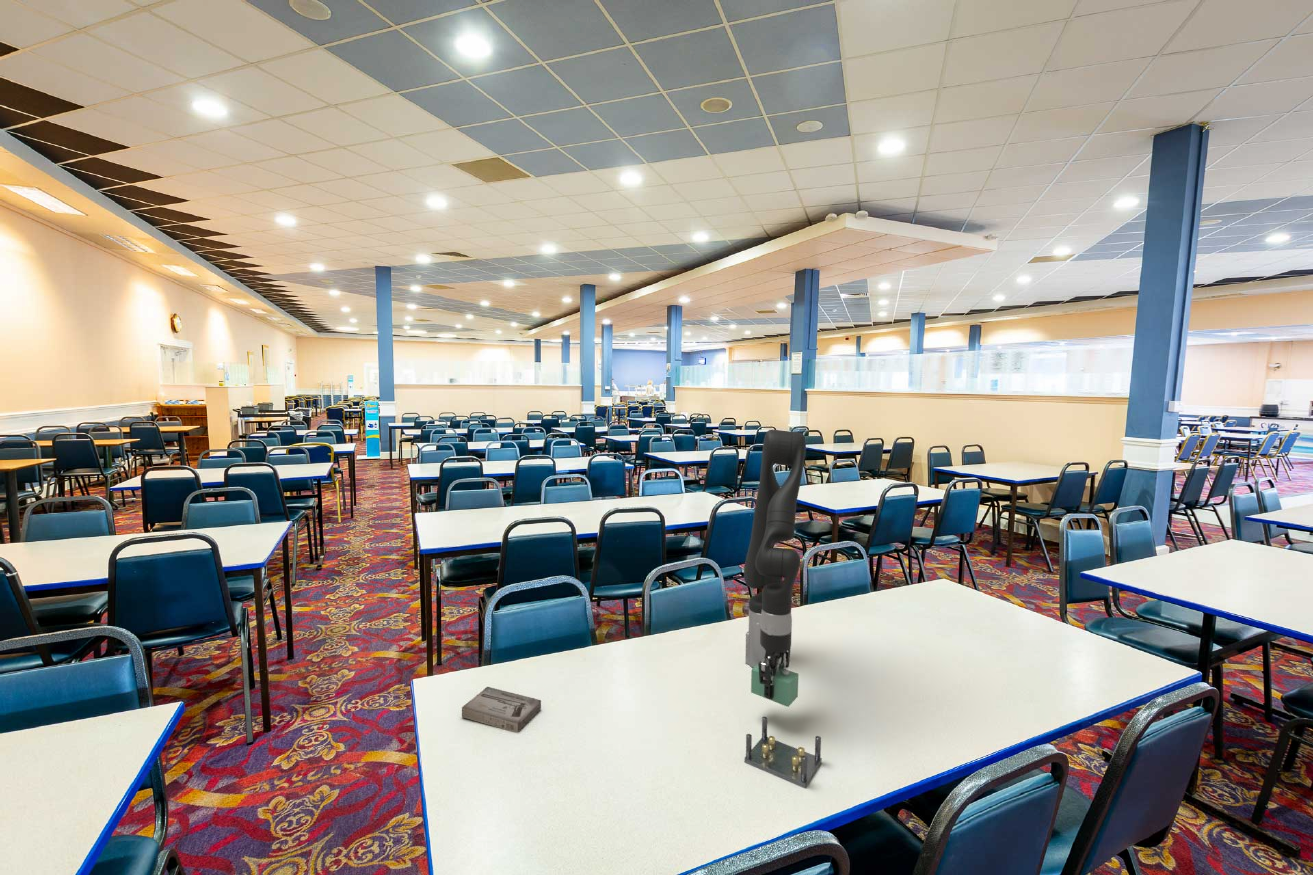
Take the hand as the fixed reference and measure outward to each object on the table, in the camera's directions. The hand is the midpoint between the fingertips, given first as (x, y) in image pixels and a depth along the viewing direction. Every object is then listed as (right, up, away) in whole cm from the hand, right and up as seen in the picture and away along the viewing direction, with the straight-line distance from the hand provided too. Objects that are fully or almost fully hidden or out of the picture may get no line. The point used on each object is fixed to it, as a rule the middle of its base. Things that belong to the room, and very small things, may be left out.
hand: (774, 691), depth 137 cm
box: (-69, -8, +4) cm, 70 cm away
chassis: (-1, -9, -14) cm, 17 cm away
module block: (0, -1, 0) cm, 1 cm away
